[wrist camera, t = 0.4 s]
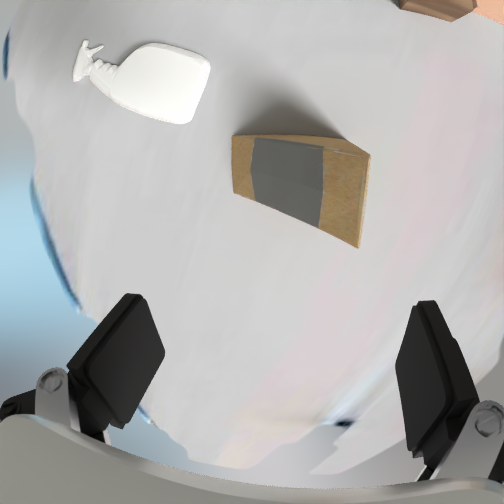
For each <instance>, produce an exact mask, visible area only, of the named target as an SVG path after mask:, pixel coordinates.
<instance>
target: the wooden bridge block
mask: <svg viewBox="0 0 504 504" xmlns="http://www.w3.org/2000/svg"><path fill="white" fill-rule="evenodd" d="M399 5H400V9H402V10H407V11H411V12H416V13H420V14H424V15H428V16H432V17H436V18H439V19H443V20H446V21H449V22H453V21H455V20H456V19H458V18H460V17H462V16H464V15H466V14H468V13H470V12H472V11H474V8H473V4H472V0H399Z"/></svg>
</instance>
